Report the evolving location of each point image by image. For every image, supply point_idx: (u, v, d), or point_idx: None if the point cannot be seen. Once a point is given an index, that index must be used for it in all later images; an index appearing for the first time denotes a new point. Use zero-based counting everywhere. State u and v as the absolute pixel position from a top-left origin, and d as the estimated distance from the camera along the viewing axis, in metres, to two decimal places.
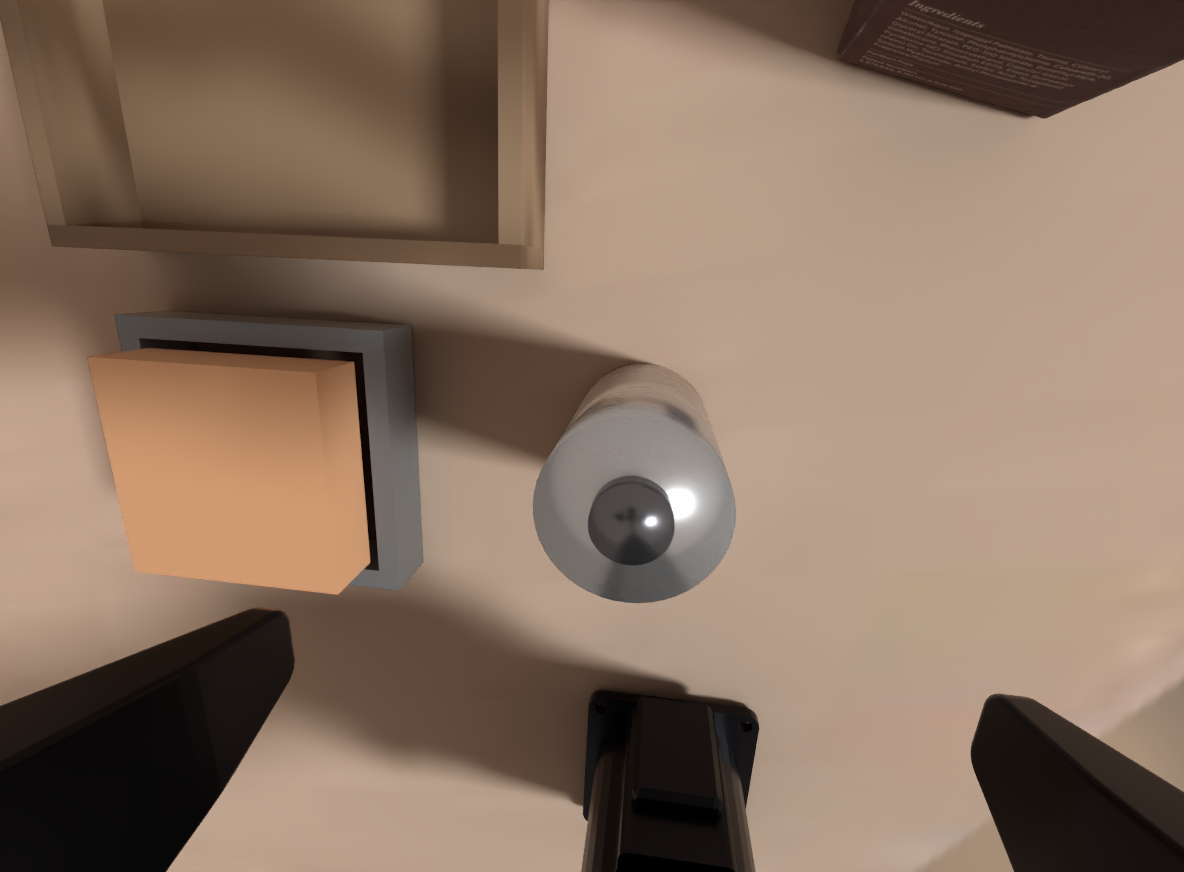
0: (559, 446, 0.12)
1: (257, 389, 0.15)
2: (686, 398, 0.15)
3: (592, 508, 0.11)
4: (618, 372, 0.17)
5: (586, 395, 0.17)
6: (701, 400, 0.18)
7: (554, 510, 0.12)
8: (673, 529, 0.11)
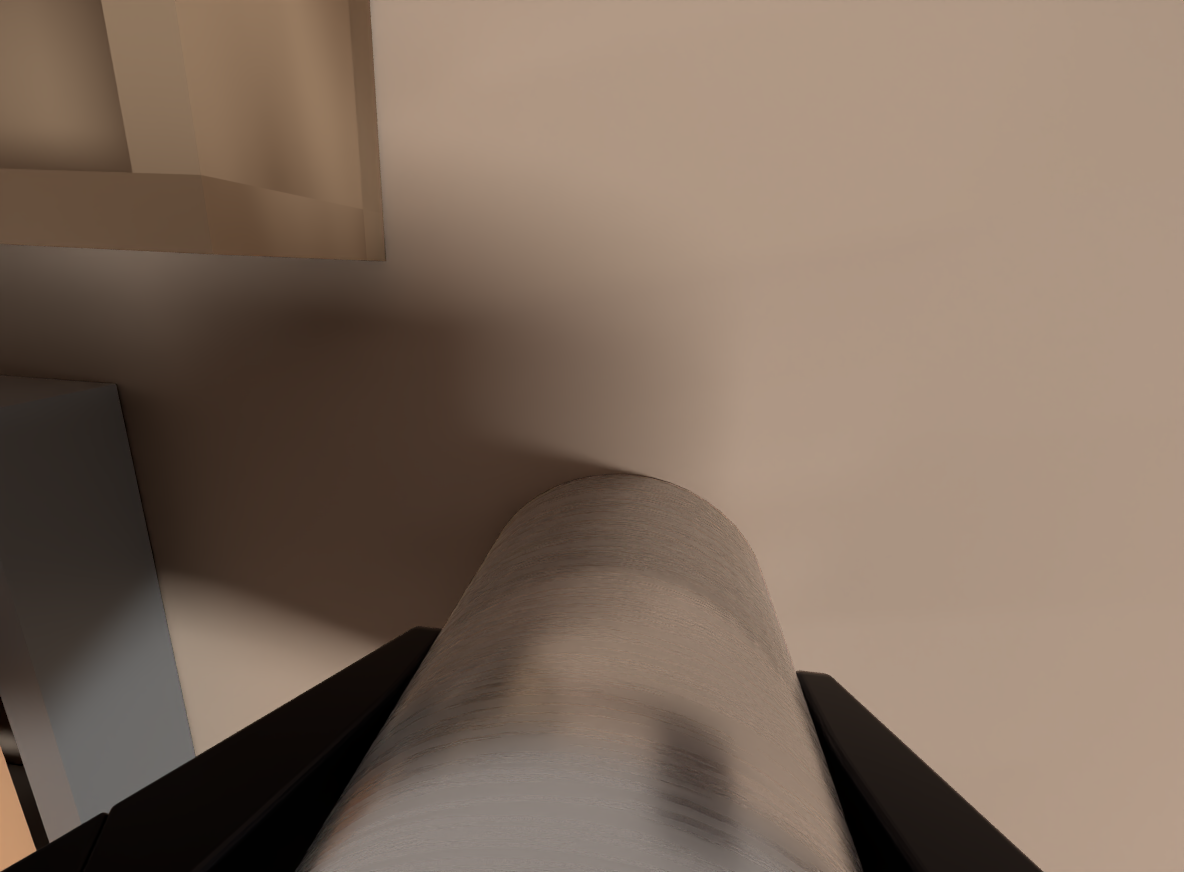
0: None
1: None
2: (744, 661, 0.05)
3: None
4: (560, 508, 0.07)
5: (488, 554, 0.07)
6: (756, 564, 0.08)
7: None
8: None
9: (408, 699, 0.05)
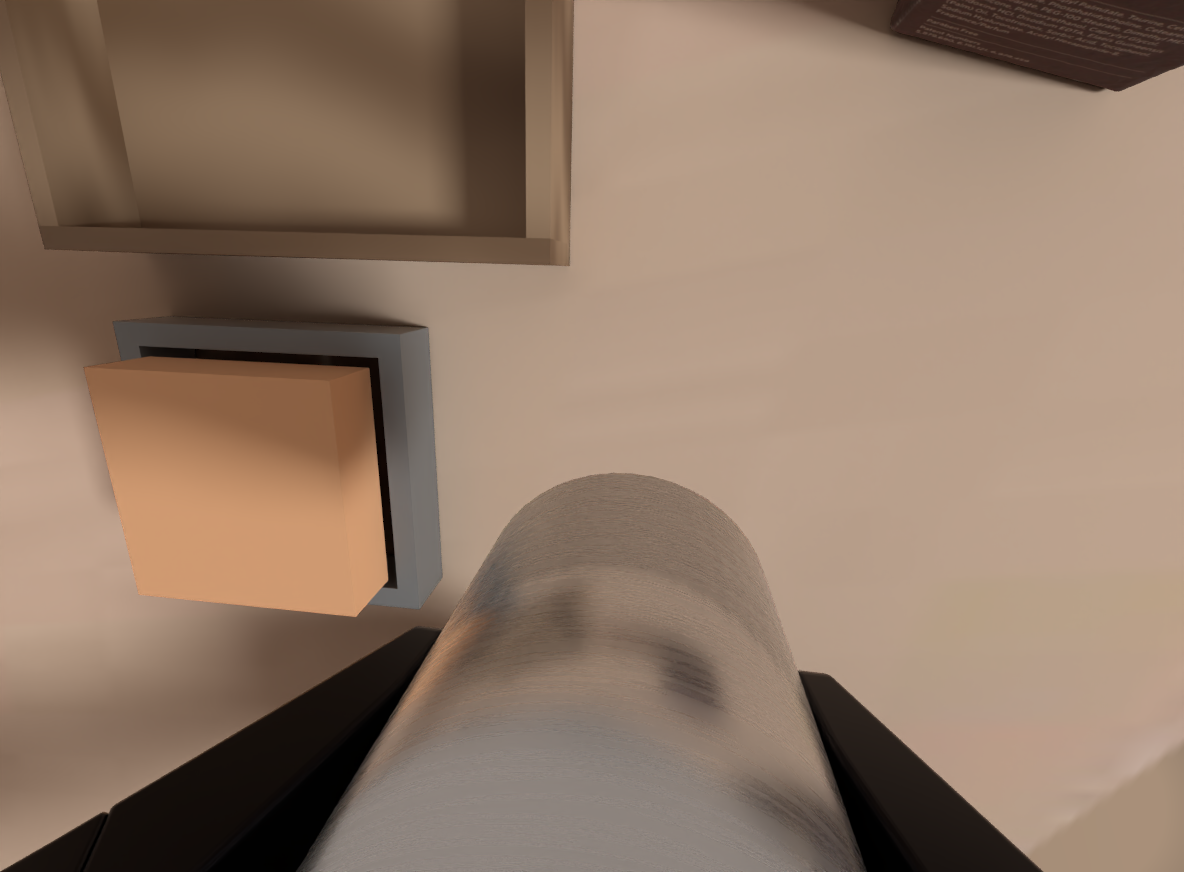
0: None
1: (266, 400, 0.14)
2: (746, 660, 0.05)
3: None
4: (561, 507, 0.07)
5: (489, 553, 0.07)
6: (758, 563, 0.08)
7: None
8: None
9: (410, 698, 0.05)
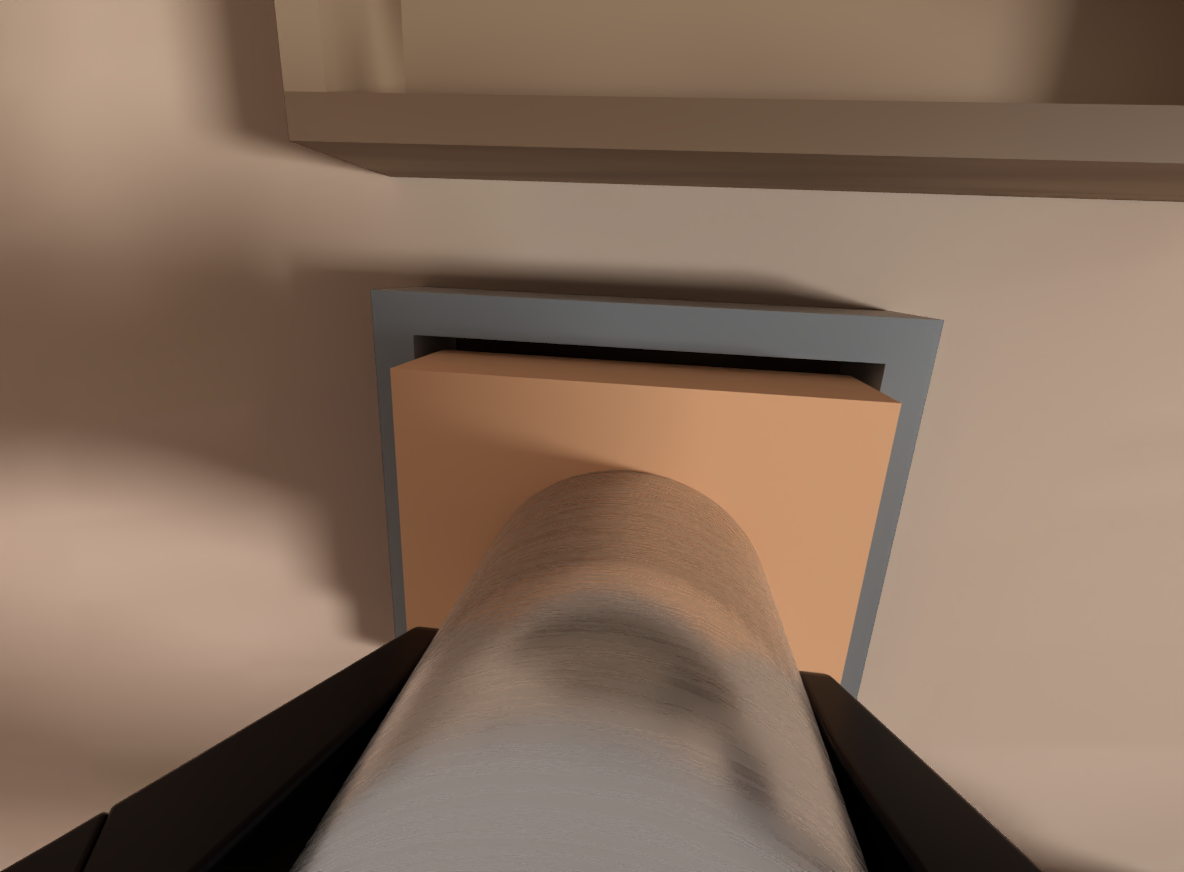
0: None
1: (754, 436, 0.07)
2: (746, 655, 0.05)
3: None
4: (560, 503, 0.07)
5: (488, 550, 0.07)
6: (758, 560, 0.08)
7: None
8: None
9: (408, 692, 0.05)
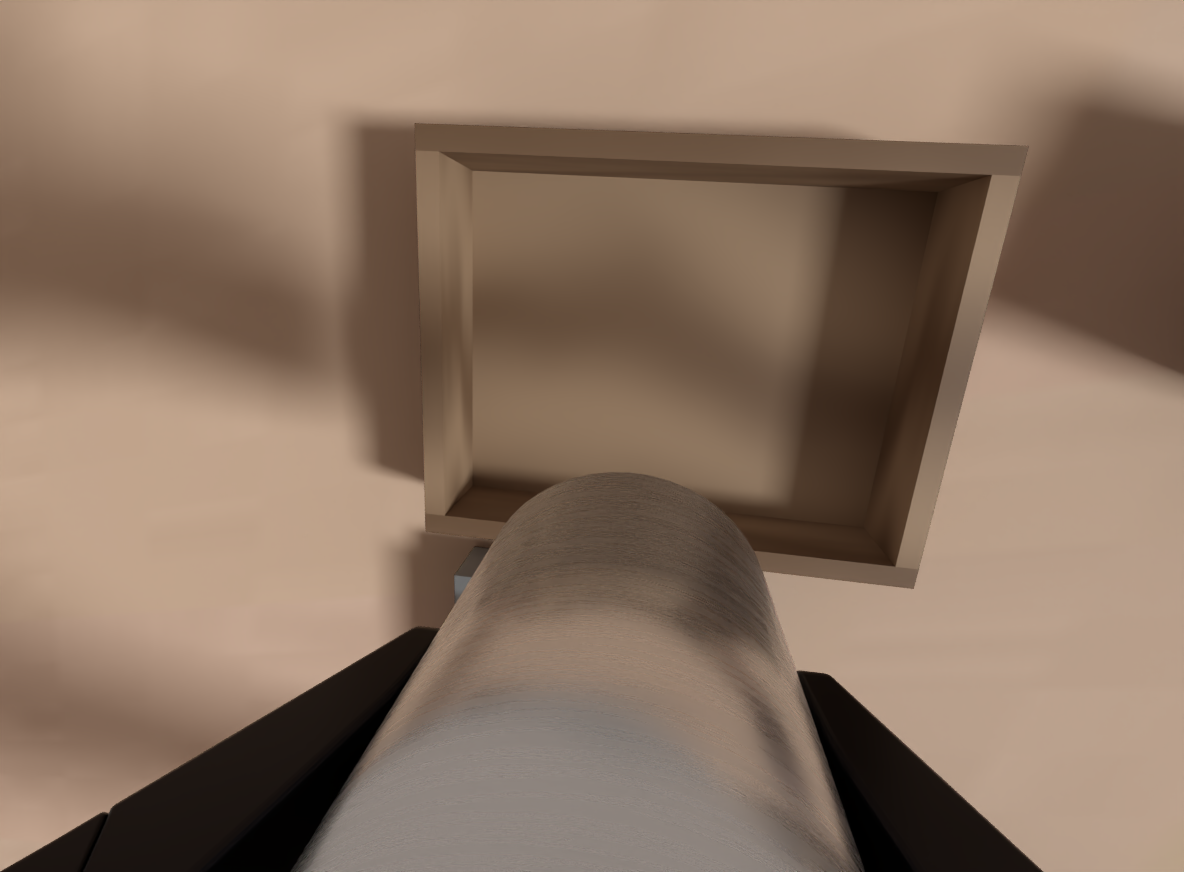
0: None
1: None
2: (744, 658, 0.05)
3: None
4: (559, 506, 0.07)
5: (487, 552, 0.07)
6: (757, 562, 0.08)
7: None
8: None
9: (407, 696, 0.05)
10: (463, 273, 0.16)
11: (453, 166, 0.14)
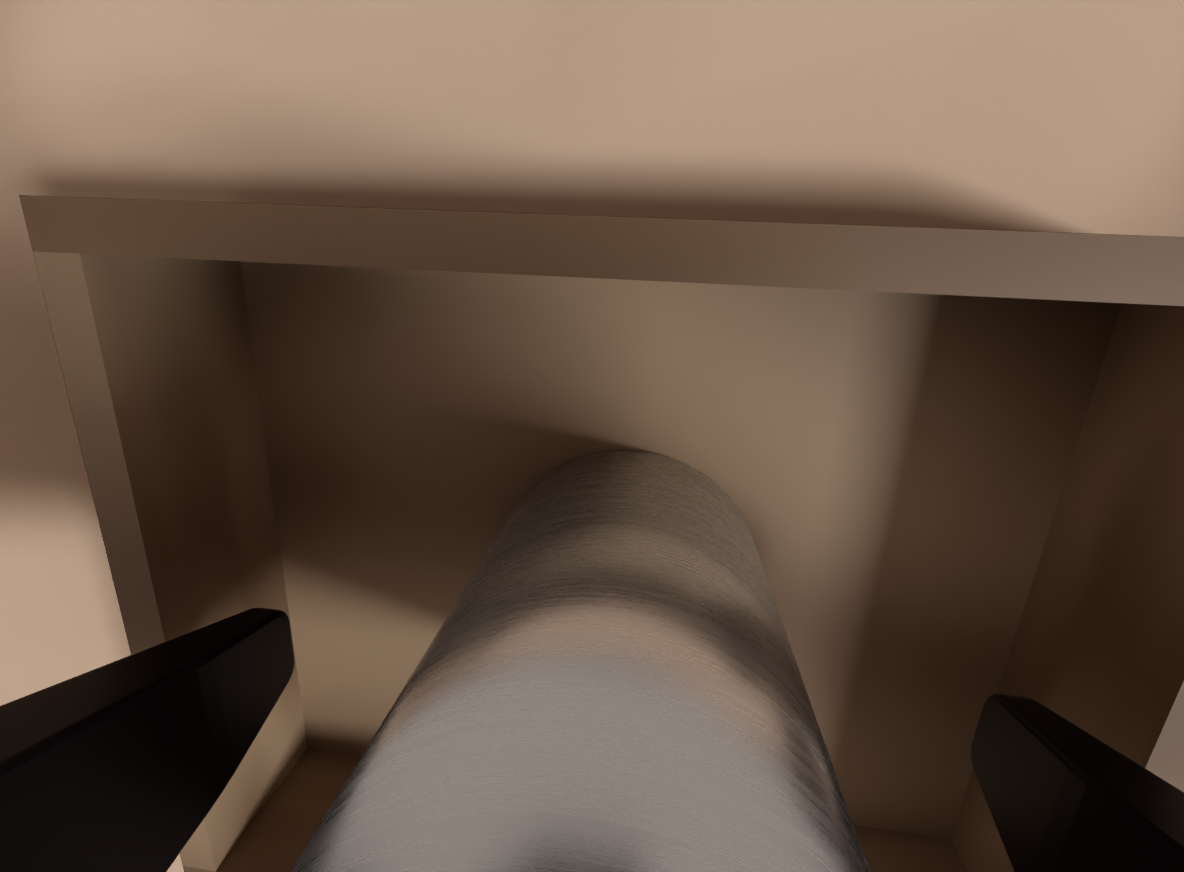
0: None
1: None
2: (732, 591, 0.06)
3: None
4: (572, 476, 0.08)
5: (507, 519, 0.08)
6: (747, 528, 0.08)
7: None
8: None
9: (450, 622, 0.06)
10: (231, 446, 0.09)
11: (158, 268, 0.07)
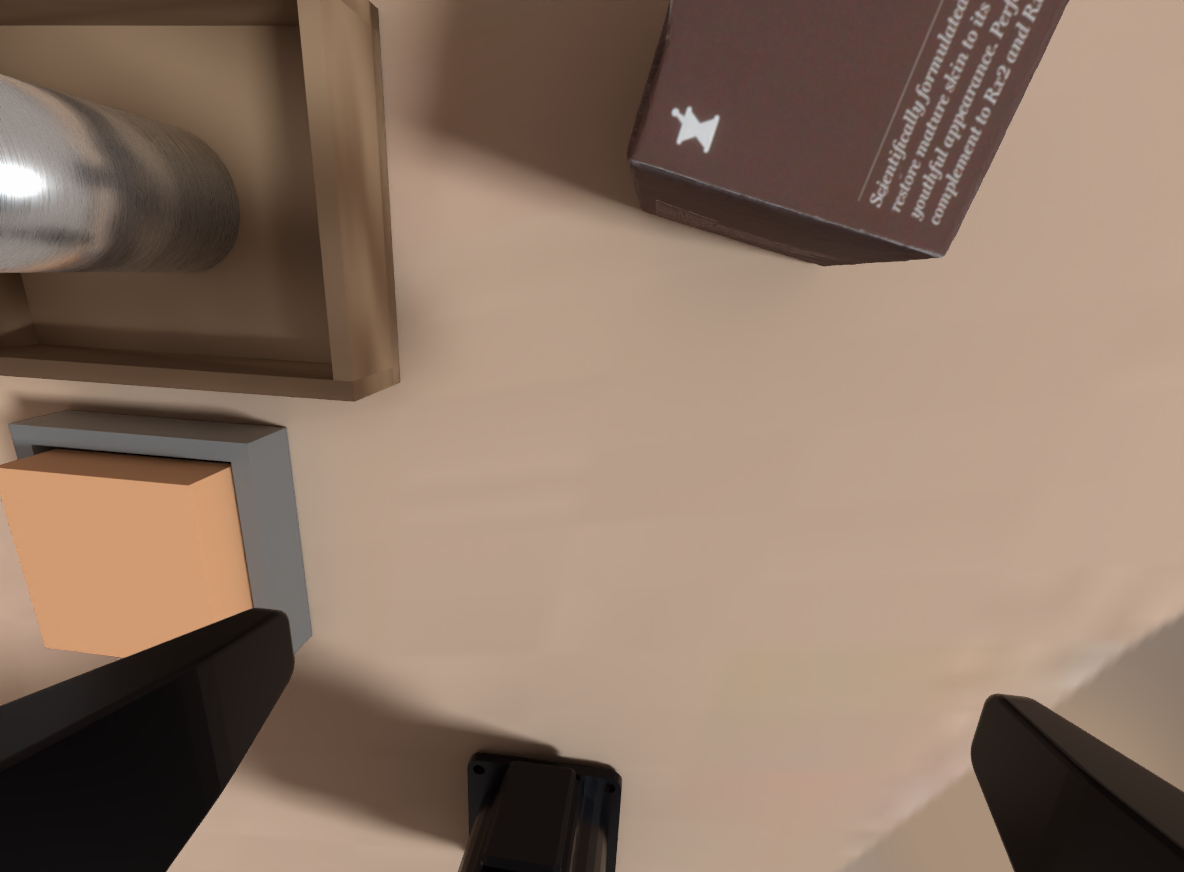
0: None
1: (139, 498, 0.17)
2: (94, 107, 0.14)
3: None
4: None
5: None
6: (213, 160, 0.17)
7: None
8: None
9: None
10: None
11: None
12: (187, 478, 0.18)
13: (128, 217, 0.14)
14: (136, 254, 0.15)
